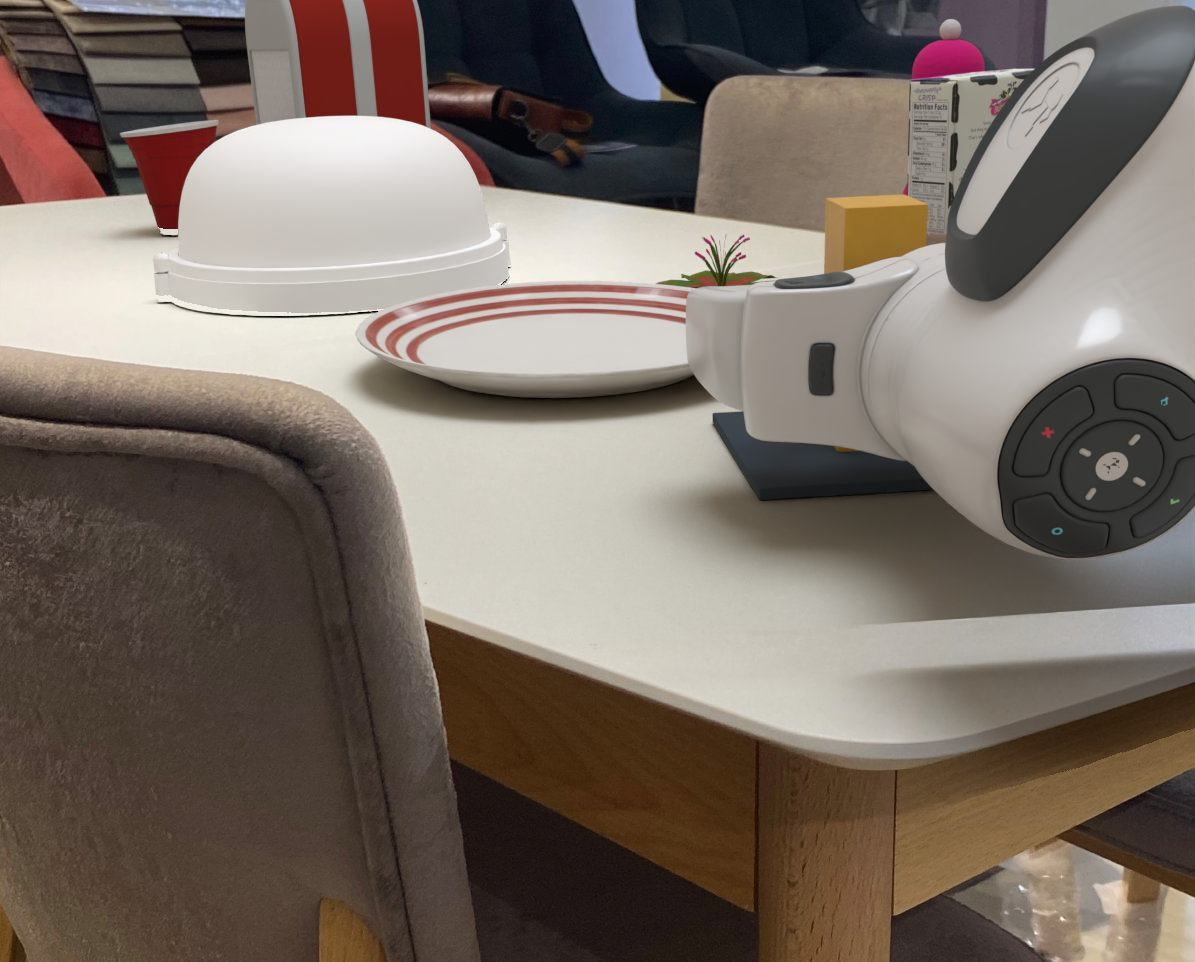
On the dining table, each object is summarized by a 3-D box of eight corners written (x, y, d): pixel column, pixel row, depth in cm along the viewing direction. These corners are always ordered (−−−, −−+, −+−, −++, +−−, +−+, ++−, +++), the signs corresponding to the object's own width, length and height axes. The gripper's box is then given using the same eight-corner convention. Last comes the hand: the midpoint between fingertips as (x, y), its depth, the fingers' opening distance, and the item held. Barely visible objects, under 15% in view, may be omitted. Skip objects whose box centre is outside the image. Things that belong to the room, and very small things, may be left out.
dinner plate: (864, 356, 94) (865, 305, 93) (558, 447, 77) (555, 386, 76) (576, 309, 113) (575, 267, 112) (278, 375, 95) (272, 325, 94)
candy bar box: (991, 279, 118) (1005, 68, 112) (1041, 286, 115) (1058, 68, 108) (897, 298, 112) (906, 75, 106) (946, 306, 109) (959, 76, 102)
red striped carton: (439, 200, 183) (422, -30, 173) (309, 214, 175) (283, -27, 165) (386, 190, 197) (367, -24, 186) (262, 203, 188) (235, -21, 178)
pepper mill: (891, 267, 125) (901, 21, 118) (902, 254, 132) (912, 19, 124) (976, 268, 123) (992, 18, 116) (983, 255, 130) (998, 17, 122)
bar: (894, 427, 76) (904, 194, 72) (916, 448, 72) (928, 203, 68) (820, 431, 76) (825, 198, 71) (838, 452, 72) (845, 207, 68)
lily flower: (620, 292, 119) (619, 236, 117) (737, 275, 125) (736, 221, 123) (705, 313, 109) (705, 252, 108) (827, 293, 115) (828, 235, 113)
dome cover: (461, 246, 146) (451, 100, 141) (569, 290, 120) (562, 114, 115) (137, 277, 135) (113, 120, 130) (180, 333, 109) (151, 141, 104)
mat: (956, 409, 81) (957, 398, 81) (1049, 483, 68) (1050, 470, 68) (712, 423, 80) (712, 412, 80) (759, 500, 68) (759, 488, 67)
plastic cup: (153, 228, 169) (137, 120, 164) (244, 224, 168) (230, 117, 164) (121, 241, 159) (103, 128, 154) (217, 238, 158) (202, 124, 154)
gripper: (1206, 266, 59) (1075, 221, 72) (713, 291, 58) (669, 241, 70) (1188, 415, 61) (1064, 346, 74) (714, 443, 60) (671, 368, 73)
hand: (868, 295), depth 72 cm, fingers open, 8 cm apart
